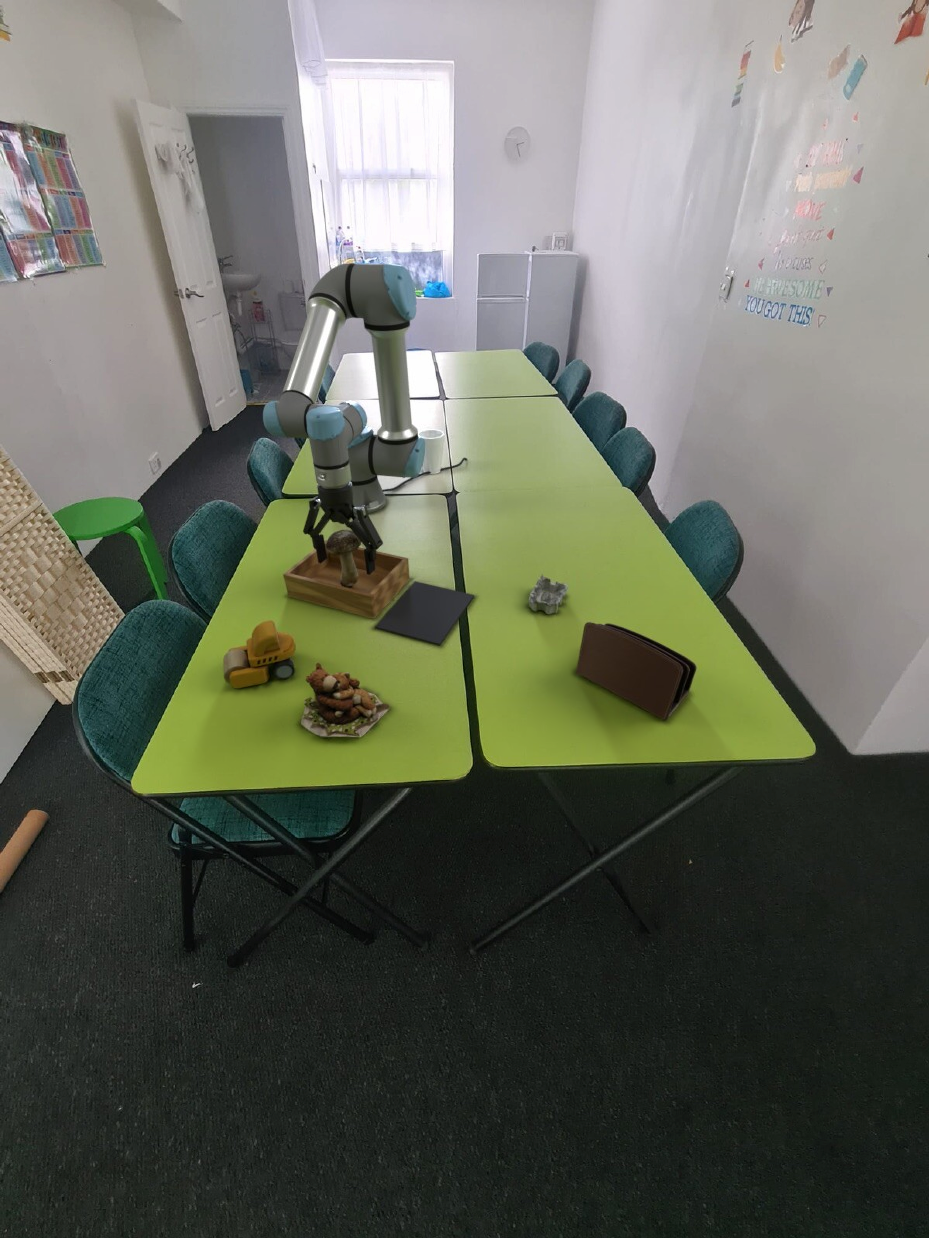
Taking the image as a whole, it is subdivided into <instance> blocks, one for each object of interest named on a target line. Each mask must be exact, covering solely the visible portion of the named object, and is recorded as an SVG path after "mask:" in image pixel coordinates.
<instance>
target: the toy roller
mask: <svg viewBox="0 0 929 1238" xmlns="http://www.w3.org/2000/svg"><path fill="white" fill-rule="evenodd" d="M296 650H297V646H296V641H295V639H294V637H293V635H291V634H289V633H285V632H282V631H277V627H276V623H275V621H274V620H270V619H269V620H265V621H261V622H260V623H259V624H257V625H256V626H255V627H254V629H253V630H252V633H251V637H249V638H248V639H246V645H240V646H236V647H231V648H229V649H228V651H227V652H226V653H225V654H224V656H223V659H222V662H223V663H222V664H223V679H224V681H225V683H227V684H228V685H230V686H231V687H232V688H234V689H241V688H242V689H243V688H246V687H247V688H248V687H253V686H257V685H261V684H262V685H263V684H265V683H267V682H268V681H269V679H270V677H271V676H270V669H269V665H270V664H272V665H273V668H272V671H273V676H274V677H275V678H276V679H278V680H281V681H284V680H288V679H290V678H292V677H293V676H294V675H295V673H296V668H295V664H294V662H293V660H292V658H291V657H292V656H293V655H294V654H295V652H296Z"/></svg>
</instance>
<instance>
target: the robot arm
mask: <svg viewBox="0 0 929 1238" xmlns="http://www.w3.org/2000/svg"><path fill="white" fill-rule="evenodd" d="M415 288H416V287H415V284H414V281H413V278H412V275H411V273H410V272H409V270H408V269H407V267H405V266H404V265H401V264H394V263H393V264H392V263H389V262H388V263H380V262H379V263H353V262H346V263H341V264H338V265H337V266H335V267H332V268H330V270H328V271H327V272H326V273H325V274H324V275H323V276H322V277H321V278H320V279H319V280H318V281H317V282H316V284H315V286H313V288H312V290H311V292H310V293H309V297H308V299H307V302H306V305H305V311H306V315H307V317H306V320H305V323H304V326H303V328H302V332H301V335H300V337H299V340H298V344H297V348H296V350H295V353H294V357H293V359H292V362H291V365H290V369H289V371H288V375H287V378H286V381H285V384H284V386H283V390H282V393H281V395H280V399H279V400H274V401H273V400H272V401H268V402H267V403H266V404H265V405H264V407H263V411H262V421H263V425H264V428H265V429H266V431H267V432H268V433H269V434H270V435H272V436H275V437H281V438H285V439H290V438H292V439H293V438H294V439H308V441H309V445H310V446H309V447H310V451H311V458H312V464H313V468H314V470H313V471H314V474H315V481H316V484H317V486H316V489H317V494H318V496H314V497H313V498H312V499H310V500H308V507H309V510H308V513H307V516H306V519H305V523H304V527H303V530H302V533H303V534H304V535H308V536H309V537H310V538H311V541H312V547H313V550H314V549H316V553H317V558H318V563H322V562H323V561H324V560H326V559H327V554H326V548H325V542H324V541H325V535H324V534H323V533H322V531H323V530H324V528H326V526H327V524H328V523H329V522H330V521H331V523H338V524H341V525H345V527H346V528H348V529H349V530H351V531H353V532H354V534H355V535H356V536H357V537H358V539H359V540H360V541H361V544H362V545H363V546H364V548H365V550H364V555H365V563H366V571H367V574H368V575H370V574H371V573H372V572H373V571H374V570H375V560H376V558H377V555H376V551H378V549H379V548H380V547H382V546H383V545H384V542H383V540H382V538H381V536H380V534H379V532H378V531H377V528H376V527H375V525H374V523H373V522H372V519H371V518H370V516H369V514H372V513H375V512H377V511H380V510H382V509H383V508H384V507H385V506H386V504H387V499H386V495H385V492H393V491H396V490H398V489H399V488H401V487H402V486H404V485H406V484H407V483H409V482H410V481H412V480H415V479H417V478H419V477H422V476H425V475H430V474H429V473H431V472H430V471H428V472H422V470H423V467H422V466H423V462H424V457H425V439H424V438H422V437H418V432H419V430H418V428H417V427H416V426H415V425H414V424H413V422H412V421H413V420H412V408H411V395H410V385H409V384H410V383H409V382H410V381H409V370H408V369H409V368H408V358H407V355H408V354H407V343H406V332H407V331H408V330H409V328H410V327H411V321H412V320H414V319H415V318H416V314H417V293H416V289H415ZM348 319H362V321H363V327H364V330H365V331H366V332H367V333H369V335H370V336H371V344H372V345H371V346H372V353H373V362H374V371H375V381H376V388H377V397H378V405H379V417H380V423H381V424H380V425H381V426H380V427H379V428H378V430H377V432H376V433H374V432H375V431H374V429H373V428H372V427H370V426H367V425H368V415H367V412H366V411H365V409H364V407H363V406H362V405H361V404H360V403H358V402H356V401H353V400H345V401H342V402H340V403H339V404H323V403H317V401H318V397H319V393H320V390H321V387H322V385H323V382H324V378H325V375H326V371H327V367H328V364H329V361H330V359H331V358H330V357H331V354H332V351H333V349H334V345H335V342H336V338H337V335H338V332H339V331H340V330H342V329H343V328H344V326H345V324H346V321H347V320H348ZM464 461H468V458H467V457H462V458H461V460H460V462H458V463H456V464H455V465H450V466H446V467H441V469H440V472H442V471H446V470H451V469H455V468H457V467H460V466H461V465H462V464H463V463H464ZM378 476H381V477H393V478H402V479H405V478H408V479H405V480H404V481H402V482H401V483H400V484H398V485H397V486H394V487H392V488H384V489H383V488H382V485H381V483H380V481H379V478H378ZM320 509H321V510H322V511H323V512H324V513H323V515H322V516H321V518H320V520H319V521H318V522H317V519H318V514H319V512H320ZM350 520H351V521H350ZM316 522H317V523H316Z"/></svg>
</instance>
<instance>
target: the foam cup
mask: <svg viewBox="0 0 929 1238" xmlns="http://www.w3.org/2000/svg"><path fill="white" fill-rule="evenodd" d="M418 437H422V438H424V439H425V457H424V462H423V466H422V471H423V472H422V473H424V472H428V471H430V472H431V473H429V474H428V475H436V474H439V473H441V471H440V469H441V468H442V465H443V455H444V444H445V431H443V430H440V429H431V428H430V429H423V430H420V431H418Z"/></svg>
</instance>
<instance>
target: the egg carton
mask: <svg viewBox="0 0 929 1238" xmlns="http://www.w3.org/2000/svg"><path fill="white" fill-rule="evenodd" d="M536 581H537V582H536V584H535V585H534V586H533V589H532V590H531V591H530V593H529V598H528V602H529V606H528V607H529V608H531V611H533V612H538V611H544V612H545V614H548V615H551V614H557V613H558V609H559V606H561V605H562V603H563V602H562V601H563V599H565V597H566V593H567V590H568V589H569V585H568V584H565V583H564V582H561V583H560V582H559V581H557V580H556V581H555V582H551V581H552V580H551V579H550V578H549V577H546V576H544V574H541V575H540V576H539V578H538V579H537V580H536Z"/></svg>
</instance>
